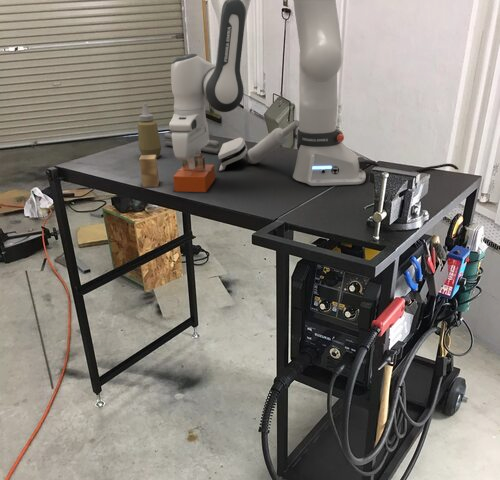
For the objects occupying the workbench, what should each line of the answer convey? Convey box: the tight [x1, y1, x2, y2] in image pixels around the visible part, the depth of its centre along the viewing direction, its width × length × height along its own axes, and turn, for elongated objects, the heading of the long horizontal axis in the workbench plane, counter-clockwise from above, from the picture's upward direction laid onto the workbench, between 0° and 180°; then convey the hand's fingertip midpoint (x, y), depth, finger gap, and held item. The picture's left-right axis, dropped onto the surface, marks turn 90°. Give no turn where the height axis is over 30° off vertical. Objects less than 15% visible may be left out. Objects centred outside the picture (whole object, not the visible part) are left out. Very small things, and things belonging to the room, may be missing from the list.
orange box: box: [172, 164, 216, 193], centre depth 163 cm, size 13×11×5 cm
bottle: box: [245, 119, 299, 165], centre depth 171 cm, size 5×5×25 cm
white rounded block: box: [217, 136, 248, 172], centre depth 180 cm, size 17×5×10 cm
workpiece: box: [138, 154, 160, 188], centre depth 164 cm, size 5×5×8 cm
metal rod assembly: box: [163, 132, 221, 155], centre depth 199 cm, size 26×3×5 cm, turn 54°
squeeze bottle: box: [137, 103, 162, 159], centre depth 188 cm, size 8×8×18 cm
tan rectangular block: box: [182, 155, 206, 171], centre depth 161 cm, size 6×2×4 cm, turn 73°
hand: (194, 167), depth 161 cm, fingers closed, pressing on tan rectangular block
